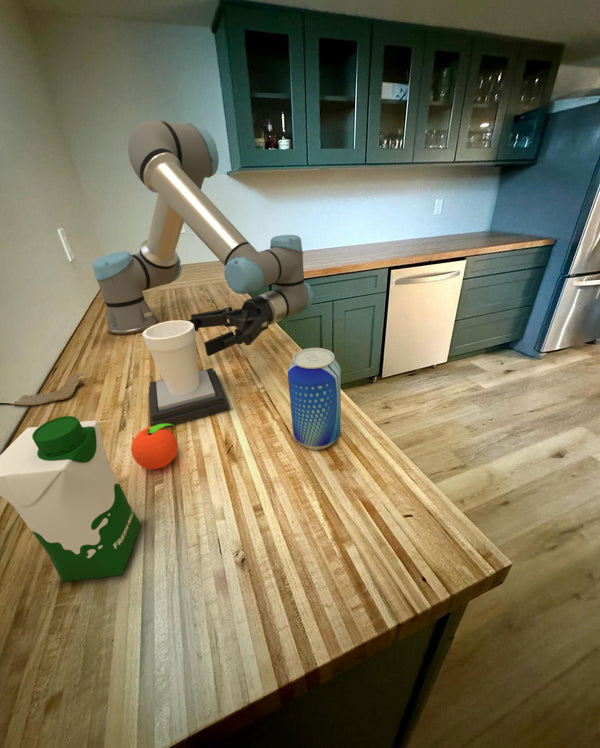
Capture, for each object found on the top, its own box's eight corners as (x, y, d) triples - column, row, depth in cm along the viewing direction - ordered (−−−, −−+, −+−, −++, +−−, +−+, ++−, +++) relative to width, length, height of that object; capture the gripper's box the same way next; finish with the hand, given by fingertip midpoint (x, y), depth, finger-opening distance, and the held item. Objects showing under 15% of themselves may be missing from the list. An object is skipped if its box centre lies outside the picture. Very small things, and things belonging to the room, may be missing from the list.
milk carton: (127, 582, 40) (56, 456, 30) (49, 591, 39) (-51, 467, 29) (150, 517, 47) (99, 400, 37) (84, 525, 47) (15, 408, 37)
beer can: (345, 425, 62) (345, 347, 54) (334, 457, 55) (333, 373, 47) (302, 418, 65) (296, 343, 57) (286, 447, 58) (278, 366, 50)
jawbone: (88, 396, 78) (84, 389, 76) (-22, 428, 70) (-28, 421, 69) (87, 377, 84) (84, 370, 83) (-13, 404, 76) (-19, 397, 75)
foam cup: (193, 400, 66) (177, 340, 59) (151, 397, 68) (132, 338, 61) (213, 376, 74) (201, 320, 67) (175, 374, 76) (160, 319, 69)
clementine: (172, 440, 62) (162, 408, 58) (195, 455, 58) (185, 423, 54) (130, 466, 56) (116, 433, 53) (152, 485, 52) (138, 451, 49)
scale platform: (158, 387, 74) (155, 381, 74) (207, 375, 78) (206, 369, 77) (160, 414, 66) (157, 407, 65) (216, 399, 69) (214, 392, 68)
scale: (150, 393, 76) (147, 381, 75) (216, 377, 81) (214, 366, 80) (152, 431, 64) (148, 418, 63) (229, 409, 69) (227, 397, 67)
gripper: (303, 336, 76) (228, 375, 63) (233, 315, 91) (161, 343, 78) (301, 304, 72) (221, 338, 59) (229, 288, 87) (152, 312, 74)
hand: (187, 341), depth 68 cm, fingers open, 13 cm apart
